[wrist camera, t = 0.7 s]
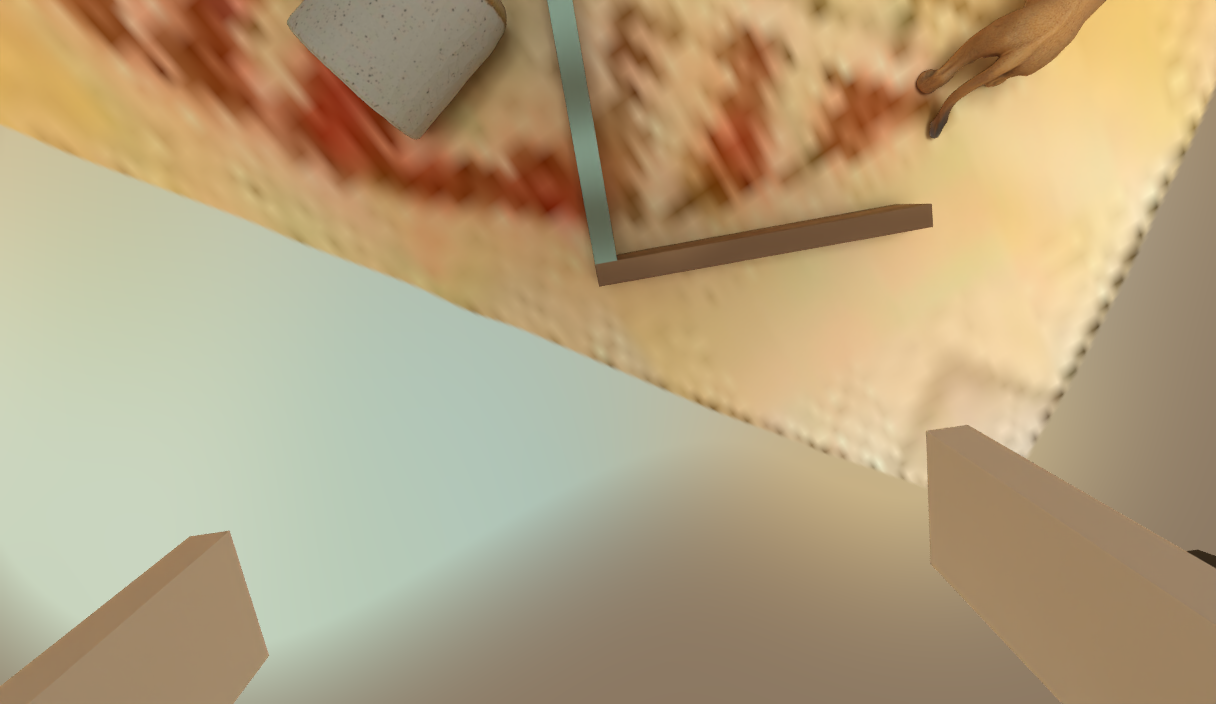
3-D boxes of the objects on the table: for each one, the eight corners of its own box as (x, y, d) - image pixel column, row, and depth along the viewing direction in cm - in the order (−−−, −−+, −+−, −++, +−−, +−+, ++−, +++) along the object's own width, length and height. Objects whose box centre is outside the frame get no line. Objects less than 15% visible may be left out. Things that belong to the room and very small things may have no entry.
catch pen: (531, -95, 32) (522, -137, 28) (870, -162, 32) (909, -214, 28) (599, 278, 37) (599, 286, 33) (897, 224, 36) (933, 226, 32)
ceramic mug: (527, 36, 34) (504, -16, 26) (433, 150, 35) (385, 131, 28) (375, -112, 32) (305, -213, 25) (283, 13, 34) (189, -47, 26)
